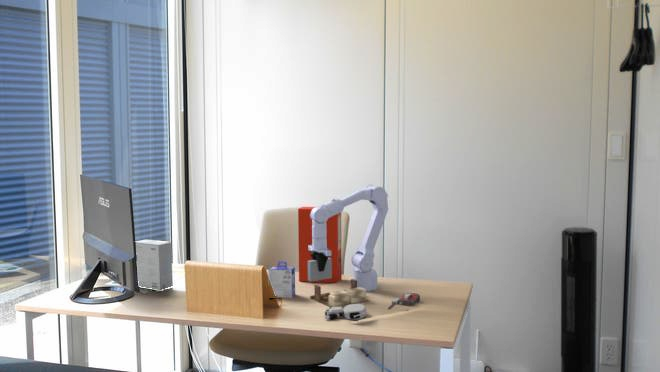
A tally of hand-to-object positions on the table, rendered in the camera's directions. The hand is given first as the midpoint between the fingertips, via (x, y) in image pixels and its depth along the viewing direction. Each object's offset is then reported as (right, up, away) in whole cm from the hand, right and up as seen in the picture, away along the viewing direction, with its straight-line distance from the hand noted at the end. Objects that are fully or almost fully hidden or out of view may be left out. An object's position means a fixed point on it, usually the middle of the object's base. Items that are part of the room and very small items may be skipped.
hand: (319, 270), depth 286 cm
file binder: (0, -8, +27) cm, 28 cm away
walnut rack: (+8, -11, -8) cm, 16 cm away
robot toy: (+10, -14, -29) cm, 34 cm away
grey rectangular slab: (0, -4, 0) cm, 3 cm away
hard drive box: (-71, -10, +16) cm, 73 cm away
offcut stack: (+11, -11, -12) cm, 20 cm away
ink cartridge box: (-15, -11, -1) cm, 19 cm away
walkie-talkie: (+32, -12, -13) cm, 37 cm away
